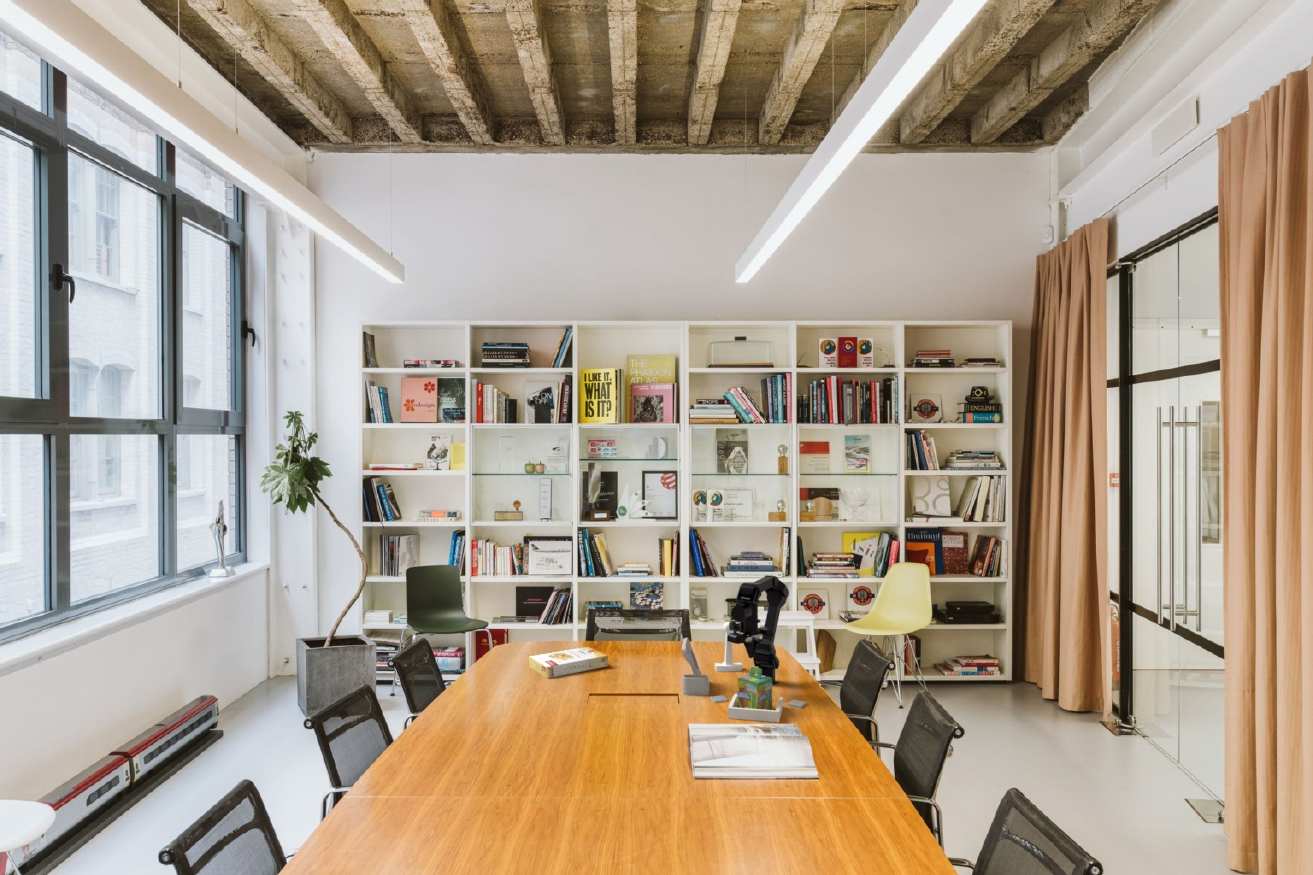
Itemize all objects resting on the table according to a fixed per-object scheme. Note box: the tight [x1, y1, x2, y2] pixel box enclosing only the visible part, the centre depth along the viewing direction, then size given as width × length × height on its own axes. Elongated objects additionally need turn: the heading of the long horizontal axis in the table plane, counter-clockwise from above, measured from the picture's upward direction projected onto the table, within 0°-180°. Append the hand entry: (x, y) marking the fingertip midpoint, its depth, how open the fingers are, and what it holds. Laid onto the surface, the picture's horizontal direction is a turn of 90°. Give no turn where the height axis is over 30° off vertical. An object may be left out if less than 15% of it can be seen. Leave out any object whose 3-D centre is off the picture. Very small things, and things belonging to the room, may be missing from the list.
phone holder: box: [681, 636, 711, 696], centre depth 296 cm, size 17×10×18 cm, turn 175°
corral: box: [727, 693, 784, 723], centre depth 269 cm, size 15×17×4 cm
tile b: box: [709, 695, 729, 704], centre depth 282 cm, size 5×5×1 cm
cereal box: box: [528, 646, 609, 679], centre depth 325 cm, size 20×6×28 cm
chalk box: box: [737, 666, 773, 710], centre depth 271 cm, size 9×9×15 cm
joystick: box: [714, 621, 743, 673], centre depth 320 cm, size 11×8×20 cm
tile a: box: [787, 699, 808, 709], centre depth 276 cm, size 5×5×1 cm
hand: (750, 657), depth 290 cm, fingers closed
